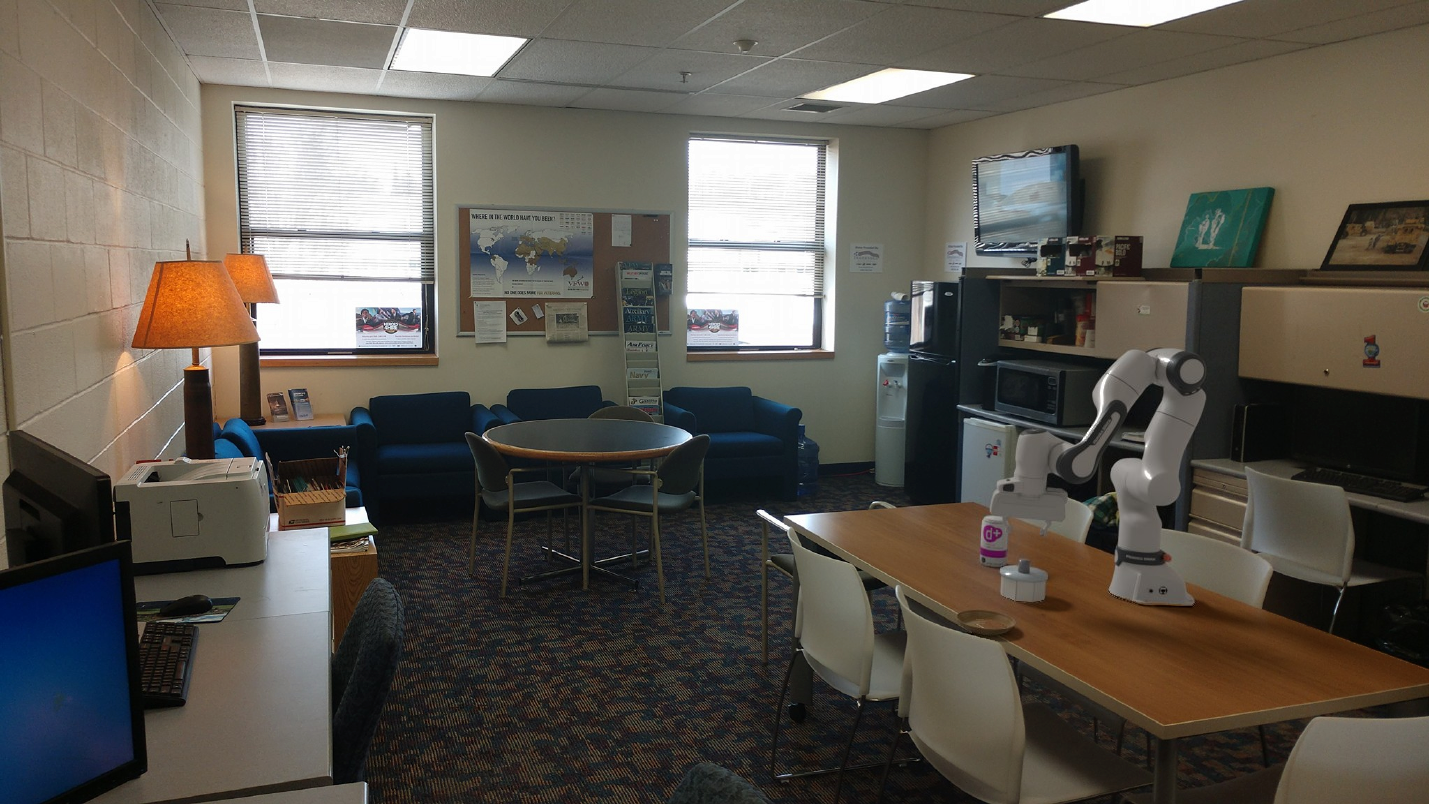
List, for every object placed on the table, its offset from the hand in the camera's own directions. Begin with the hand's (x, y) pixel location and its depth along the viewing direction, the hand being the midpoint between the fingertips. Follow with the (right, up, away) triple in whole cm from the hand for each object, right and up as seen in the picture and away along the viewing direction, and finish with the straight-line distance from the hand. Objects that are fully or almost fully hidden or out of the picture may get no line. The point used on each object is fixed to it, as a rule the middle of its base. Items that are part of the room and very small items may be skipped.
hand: (1025, 533), depth 271 cm
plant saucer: (-18, -21, -24) cm, 37 cm away
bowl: (0, -18, +2) cm, 18 cm away
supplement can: (+1, -14, +34) cm, 37 cm away
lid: (0, -12, +1) cm, 12 cm away
